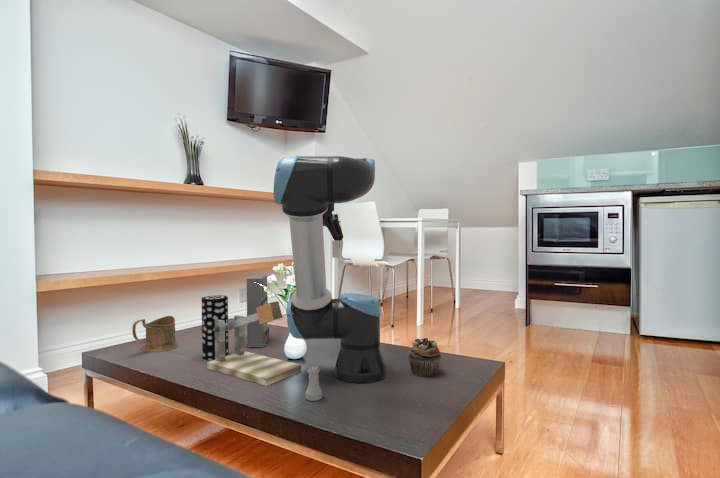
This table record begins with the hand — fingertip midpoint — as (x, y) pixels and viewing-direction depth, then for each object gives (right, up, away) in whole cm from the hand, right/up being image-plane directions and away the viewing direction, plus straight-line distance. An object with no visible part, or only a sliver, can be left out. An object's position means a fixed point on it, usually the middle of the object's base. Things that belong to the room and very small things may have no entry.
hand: (324, 258), depth 154 cm
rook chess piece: (+1, -33, -47) cm, 58 cm away
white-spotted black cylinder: (-36, -33, -12) cm, 50 cm away
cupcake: (+32, -33, -28) cm, 54 cm away
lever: (-20, -19, -26) cm, 38 cm away
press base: (-19, -33, -26) cm, 46 cm away
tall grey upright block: (-25, -32, +5) cm, 41 cm away
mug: (-60, -32, -4) cm, 68 cm away
